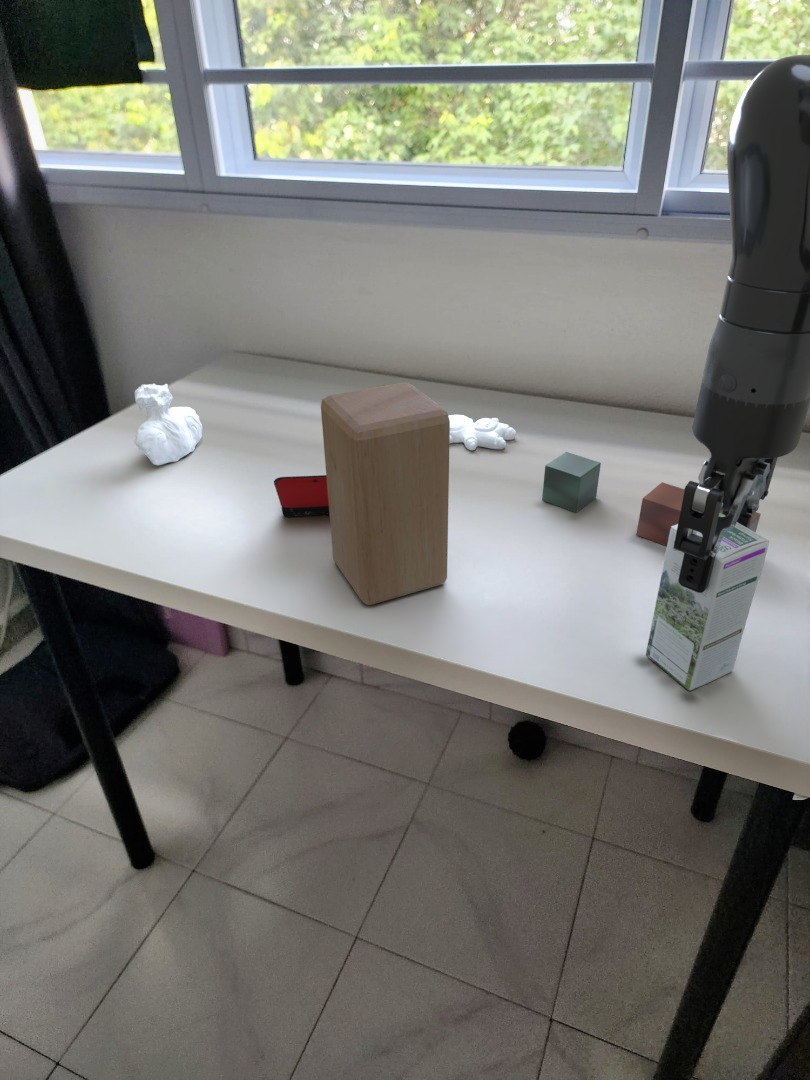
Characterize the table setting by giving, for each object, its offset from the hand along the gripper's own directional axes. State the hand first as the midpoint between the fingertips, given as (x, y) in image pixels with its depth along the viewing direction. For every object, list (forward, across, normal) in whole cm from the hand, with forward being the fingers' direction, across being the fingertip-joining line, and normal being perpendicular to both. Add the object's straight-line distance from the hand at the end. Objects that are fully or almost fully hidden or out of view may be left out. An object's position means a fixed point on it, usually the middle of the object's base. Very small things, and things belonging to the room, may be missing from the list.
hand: (710, 567), depth 63 cm
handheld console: (+11, -1, +46) cm, 47 cm away
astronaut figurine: (+11, +27, +45) cm, 54 cm away
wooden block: (+11, -7, +31) cm, 34 cm away
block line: (+11, +20, +15) cm, 27 cm away
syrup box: (+11, 0, 0) cm, 11 cm away
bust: (+11, -5, +76) cm, 77 cm away
